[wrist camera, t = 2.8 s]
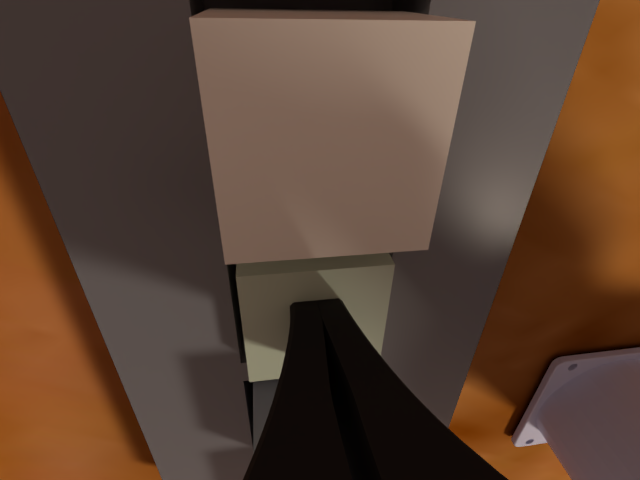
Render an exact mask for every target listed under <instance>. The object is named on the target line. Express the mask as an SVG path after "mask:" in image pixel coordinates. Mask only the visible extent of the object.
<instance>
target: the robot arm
mask: <svg viewBox="0 0 640 480" xmlns="http://www.w3.org/2000/svg"><path fill="white" fill-rule="evenodd" d="M511 440H512V442H513V444H514V446H516V447H522V446H528V445H535V444H541V443H548V444H549V446H550V447H551V449H552V450H553V452H554V453H555V455H556V456H557V458H558V459H559V461H560V463H561V464H562V466H563V467H564V469H565V470H566V472H567V473H568V475H569V476H570V478H571V479H572V480H640V347H637V348H628V349H620V350H612V351H603V352H595V353H586V354H578V355H570V356H562V357H558V358H556V359H555V360H553V361H552V362H551V364H550V366H549V368H548V370H547V372H546V374H545V375H544V377H543V379H542V381H541V383H540V385H539V387H538V389H537V391H536V393H535V394H534V396H533V398H532V400H531V402H530V404H529V406H528V408H527V410H526V412H525V413H524V415H523V417H522V419H521V421H520V423H519V425H518V427H517V429H516V431H515V432H514V434H513V436H512V439H511ZM243 480H508V479H507V478H506V477H504V476H503V475H502V474H500V473H499V472H498V471H497V470H496V469H495V468H493V467H492V466H491V465H490V464H489V463H487V462H486V461H485V460H484V459H483V458H482V457H480V456H479V455H478V454H477V453H476V452H474V451H473V450H472V449H471V448H470V447H469V446H467V445H466V444H465V443H464V442H463V441H461V440H460V439H459V438H458V437H457V436H456V435H455V434H454V433H453V432H452V431H451V430H450V429H448V428H447V427H446V426H445V425H444V424H443V423H442V422H441V421H440V420H439V419H438V418H437V417H436V416H435V415H434V414H433V413H432V412H431V411H430V410H429V409H428V408H427V407H426V406H425V405H424V404H423V403H422V402H421V401H420V400H419V399H418V398H417V397H416V396H415V395H414V394H413V393H412V392H411V391H410V389H409V388H408V387H407V386H406V385H405V384H404V383H403V382H402V381H401V379H400V378H399V377H398V376H397V375H396V374H395V373H394V371H393V370H392V369H391V368H390V367H389V365H388V364H387V363H386V362H385V361H384V359H383V358H382V357H381V355H380V354H379V353H378V352H377V350H376V349H375V348H374V347H373V345H372V344H371V343H370V341H369V340H368V339H367V337H366V336H365V335H364V333H363V332H362V330H361V329H360V328H359V326H358V325H357V323H356V322H355V320H354V319H353V317H352V316H351V314H350V313H349V311H348V309H347V308H346V306H345V305H344V303H343V301H342V300H340V299H339V298H336V299H325V300H317V301H316V300H314V301H302V302H294V303H292V304H291V305H290V328H289V336H288V342H287V347H286V352H285V357H284V361H283V366H282V370H281V374H280V377H279V381H278V384H277V388H276V391H275V395H274V398H273V402H272V405H271V408H270V411H269V414H268V417H267V420H266V422H265V425H264V428H263V431H262V433H261V436H260V439H259V441H258V444H257V446H256V449H255V451H254V454H253V456H252V459H251V461H250V464H249V466H248V469H247V471H246V473H245V476H244V478H243Z"/></svg>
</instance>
